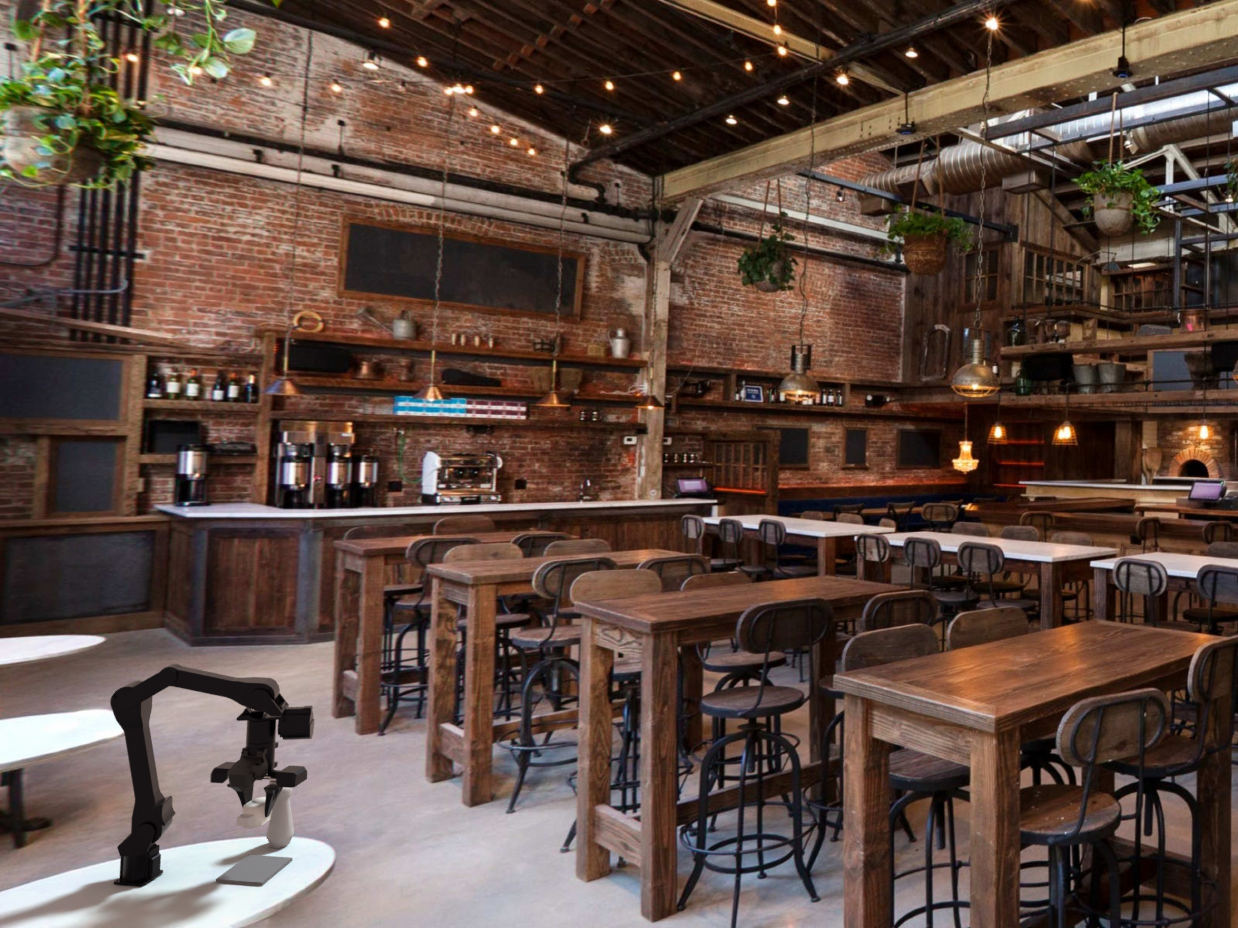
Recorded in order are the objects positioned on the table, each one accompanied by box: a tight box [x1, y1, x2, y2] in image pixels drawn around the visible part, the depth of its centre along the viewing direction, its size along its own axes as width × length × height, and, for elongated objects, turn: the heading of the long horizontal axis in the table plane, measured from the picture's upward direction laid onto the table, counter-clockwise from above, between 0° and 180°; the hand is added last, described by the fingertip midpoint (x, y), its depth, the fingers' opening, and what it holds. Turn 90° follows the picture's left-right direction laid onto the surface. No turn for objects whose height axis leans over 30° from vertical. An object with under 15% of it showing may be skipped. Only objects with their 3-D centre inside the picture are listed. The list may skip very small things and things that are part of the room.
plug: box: [236, 796, 272, 829], centre depth 171 cm, size 9×4×4 cm, turn 174°
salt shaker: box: [265, 787, 295, 849], centre depth 185 cm, size 6×6×13 cm
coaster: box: [215, 854, 293, 886], centre depth 171 cm, size 10×12×1 cm
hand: (257, 815), depth 172 cm, fingers closed on plug, 4 cm apart
